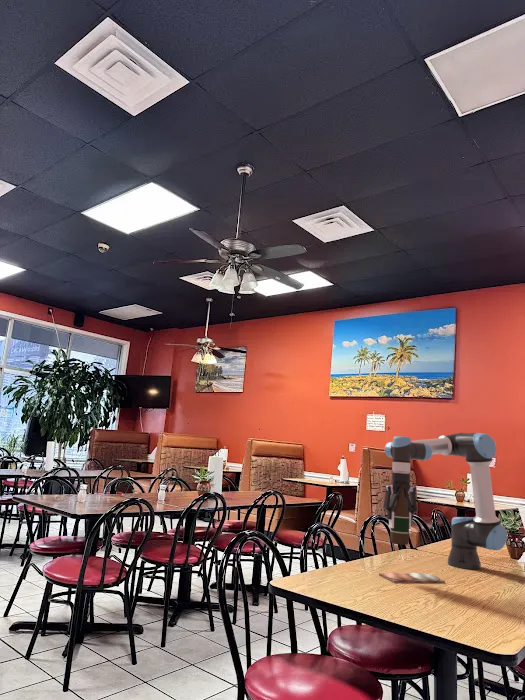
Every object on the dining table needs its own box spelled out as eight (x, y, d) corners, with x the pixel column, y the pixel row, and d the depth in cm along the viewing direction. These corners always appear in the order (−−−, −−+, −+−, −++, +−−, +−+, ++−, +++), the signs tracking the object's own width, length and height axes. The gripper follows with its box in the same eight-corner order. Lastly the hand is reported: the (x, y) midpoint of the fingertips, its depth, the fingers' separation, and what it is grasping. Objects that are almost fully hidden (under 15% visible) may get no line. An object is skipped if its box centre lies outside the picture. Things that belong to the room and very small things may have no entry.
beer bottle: (411, 545, 209) (412, 485, 214) (392, 543, 209) (393, 484, 214) (406, 542, 217) (407, 484, 221) (388, 540, 217) (389, 483, 222)
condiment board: (428, 575, 220) (428, 572, 221) (445, 583, 209) (445, 580, 209) (378, 575, 214) (378, 572, 214) (393, 582, 203) (393, 579, 203)
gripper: (416, 473, 225) (415, 527, 220) (375, 470, 219) (373, 525, 215) (426, 474, 218) (425, 530, 213) (384, 471, 212) (382, 528, 208)
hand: (399, 527), depth 214 cm, fingers closed on beer bottle, 7 cm apart
